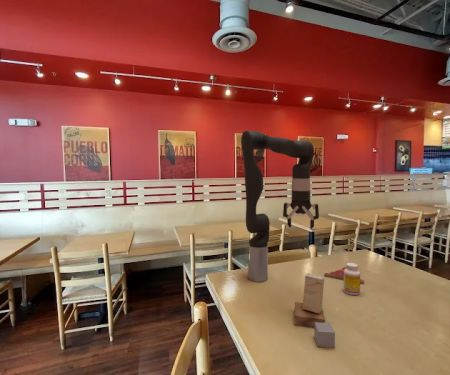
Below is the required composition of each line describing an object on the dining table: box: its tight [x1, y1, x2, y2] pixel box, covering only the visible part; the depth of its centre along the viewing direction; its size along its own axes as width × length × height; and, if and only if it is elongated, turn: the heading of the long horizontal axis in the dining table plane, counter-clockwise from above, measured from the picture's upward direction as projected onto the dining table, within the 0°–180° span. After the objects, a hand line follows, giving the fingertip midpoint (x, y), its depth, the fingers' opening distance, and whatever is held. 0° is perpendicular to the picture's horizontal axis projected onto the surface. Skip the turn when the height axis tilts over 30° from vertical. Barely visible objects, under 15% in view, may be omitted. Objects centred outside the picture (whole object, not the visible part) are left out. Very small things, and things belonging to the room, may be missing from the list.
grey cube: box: [313, 322, 336, 348], centre depth 83 cm, size 5×5×5 cm
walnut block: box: [294, 301, 326, 329], centre depth 95 cm, size 10×10×4 cm
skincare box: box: [302, 273, 325, 313], centre depth 95 cm, size 6×4×12 cm
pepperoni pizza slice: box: [323, 266, 365, 285], centre depth 137 cm, size 18×2×20 cm
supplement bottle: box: [343, 262, 361, 296], centre depth 115 cm, size 7×7×13 cm
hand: (300, 227), depth 108 cm, fingers open, 8 cm apart
